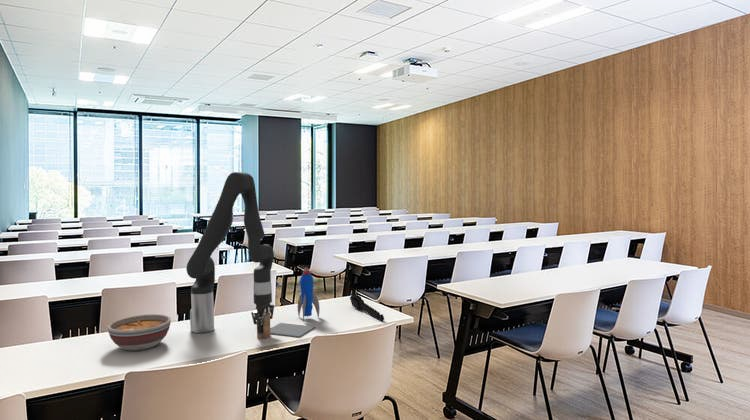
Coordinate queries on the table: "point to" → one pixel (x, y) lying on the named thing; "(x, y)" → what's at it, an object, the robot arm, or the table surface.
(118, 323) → the bowl
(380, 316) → the black long tapered piece
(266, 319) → the walnut block
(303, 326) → the rubber mat
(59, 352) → the table surface
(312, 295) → the toy rocket
